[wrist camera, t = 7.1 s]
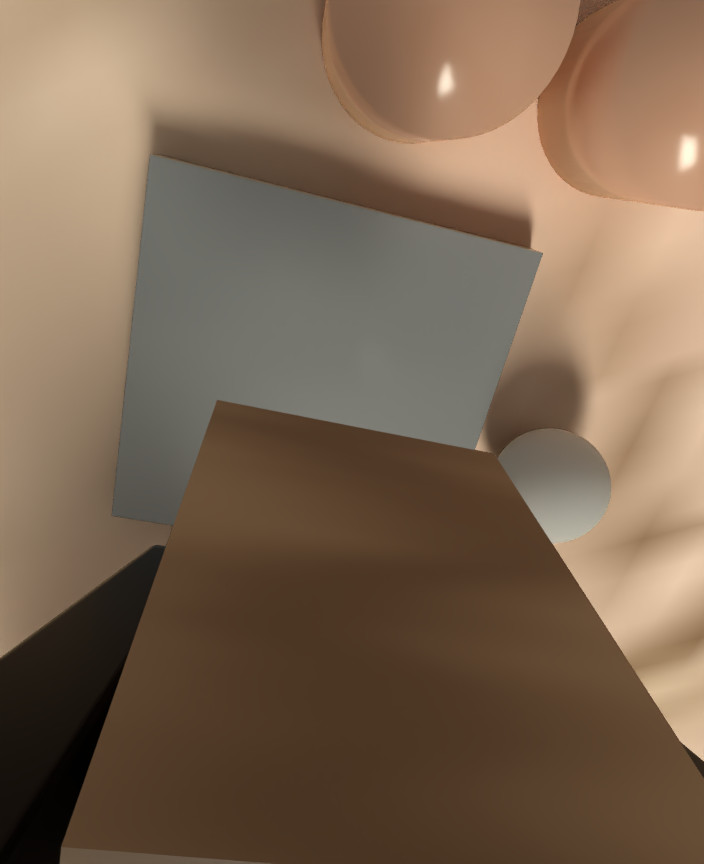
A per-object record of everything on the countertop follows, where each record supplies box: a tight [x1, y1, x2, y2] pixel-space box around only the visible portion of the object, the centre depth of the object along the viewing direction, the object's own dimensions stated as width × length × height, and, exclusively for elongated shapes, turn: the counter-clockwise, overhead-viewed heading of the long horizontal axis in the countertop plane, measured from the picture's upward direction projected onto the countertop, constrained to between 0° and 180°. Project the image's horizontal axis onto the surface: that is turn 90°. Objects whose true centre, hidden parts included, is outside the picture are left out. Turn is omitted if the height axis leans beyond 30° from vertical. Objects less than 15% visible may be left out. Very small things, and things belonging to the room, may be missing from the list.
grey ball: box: [497, 428, 611, 543], centre depth 16 cm, size 3×3×3 cm
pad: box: [112, 155, 543, 526], centre depth 16 cm, size 9×9×1 cm
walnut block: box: [60, 400, 704, 864], centre depth 7 cm, size 4×4×6 cm
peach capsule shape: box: [322, 0, 581, 144], centre depth 12 cm, size 4×4×4 cm
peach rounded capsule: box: [537, 0, 704, 211], centre depth 13 cm, size 4×4×4 cm
